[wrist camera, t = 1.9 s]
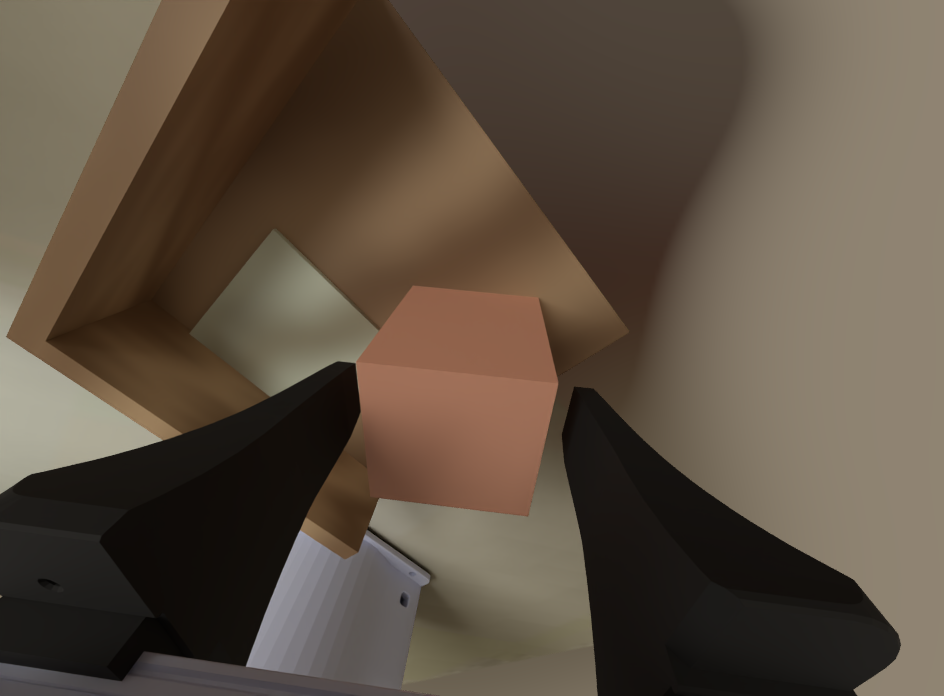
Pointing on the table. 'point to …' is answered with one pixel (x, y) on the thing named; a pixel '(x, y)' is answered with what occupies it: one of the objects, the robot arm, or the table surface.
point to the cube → (458, 400)
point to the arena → (284, 223)
